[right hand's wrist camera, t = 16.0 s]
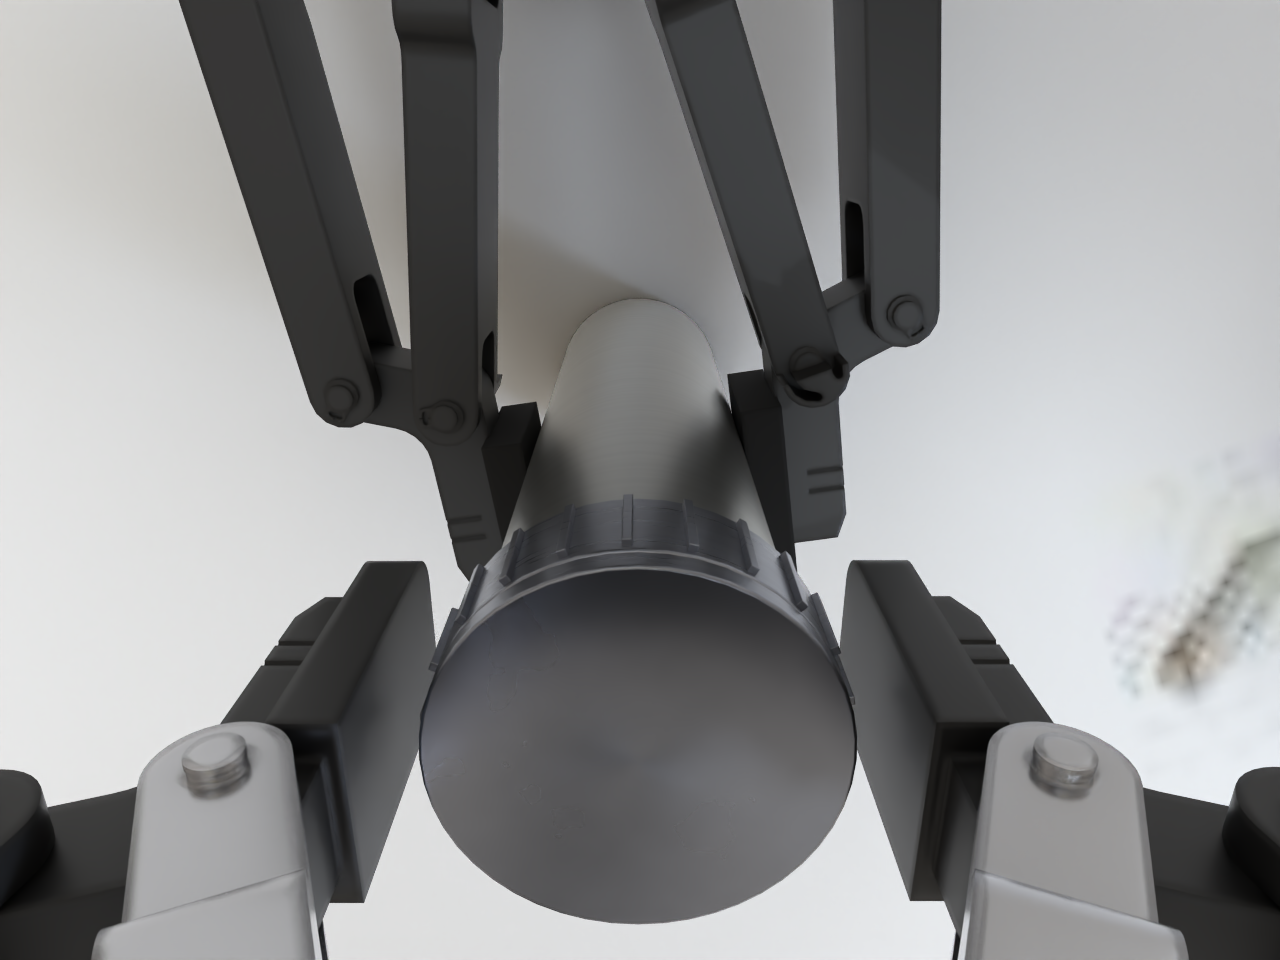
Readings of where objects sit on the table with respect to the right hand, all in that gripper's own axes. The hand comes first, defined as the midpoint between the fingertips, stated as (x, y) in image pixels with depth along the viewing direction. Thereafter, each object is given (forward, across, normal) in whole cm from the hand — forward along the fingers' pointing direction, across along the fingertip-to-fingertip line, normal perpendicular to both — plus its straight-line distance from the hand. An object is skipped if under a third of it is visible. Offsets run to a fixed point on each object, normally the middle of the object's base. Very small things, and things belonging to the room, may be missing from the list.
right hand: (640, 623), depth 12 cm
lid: (-2, 0, 0) cm, 2 cm away
